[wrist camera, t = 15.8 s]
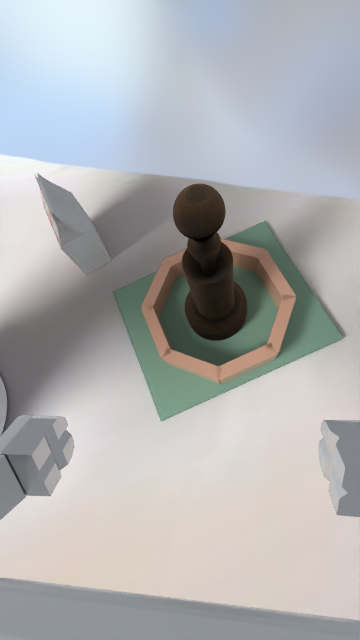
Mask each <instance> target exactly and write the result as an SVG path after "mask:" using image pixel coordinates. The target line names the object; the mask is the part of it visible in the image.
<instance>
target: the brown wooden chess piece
mask: <svg viewBox="0 0 360 640" xmlns="http://www.w3.org/2000/svg"><path fill="white" fill-rule="evenodd" d="M173 218H174V222H175V225H176V227H177V228H178V230H179V231H180V232H181V233H182V234H183V235H184V236H186V237H188V238H189V239H188V243H187V246H188V248H187V249H186V250H185V252H184V254H183V256H182V269H183V272H184V274H185V277H186V280H187V282H188V285H189V288H190V291H189V293H188V295H187V297H186V300H185V314H186V318H187V320H188V322H189V324H190V326H191V328H192V329H193V331H194V332H195V333H196V334H198V335H199V336H200V337H202V338H204V339H207V340H212V341H219V340H224V339H227V338H230V337H232V336H233V335H235V334H236V333H237V332H238V331H239V330H240V329H241V328H242V326H243V324H244V322H245V320H246V315H247V299H246V296H245V293H244V291H243V290H242V288H241V287H240V286H239V285H238V284H237V283H236V282H235V281H234V279H233V255H232V252H231V250H230V249H229V247H228V246H227V245H225V244H224V243H223V242H221V239H220V236H219V234H218V233H217V231H218V230H219V229H220V227H221V226H222V224H223V221H224V218H225V205H224V202H223V199H222V197H221V195H220V194H219V193H218V192H217V191H216V190H215V189H214V188H213V187H211V186H209V185H206V184H193V185H190V186H188V187H186V188H185V189H184V190H182V191H181V192H180V194H179V195H178V196H177V198H176V200H175V203H174V207H173Z"/></svg>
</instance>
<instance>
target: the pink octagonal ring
mask: <svg viewBox="0 0 360 640" xmlns="http://www.w3.org/2000/svg"><path fill="white" fill-rule="evenodd" d="M220 239H221V238H220ZM221 242H223V243H224V244H225V245H227V246H228V247H229V249H230V250H231V252H232V255H233V266H236V267H240V268H243V269H247V270H251V271H255V272H257V274H258V276H259V277H260V279H261V281H262V282H263V284H264V286H265V287H266V289H267V291H268V292H269V294H270V296H271V297H272V299H273V301H274V302H275V304H276V306H277V307H278V311H277V314H276V317H275V320H274V323H273V326H272V329H271V332H270V336H269V339H268V342H267V345H265V346H262V347H260V348H258V349H256V350H254V351H251V352H249V353H247V354H245V355H243V356H240V357H238V358H236V359H234V360H232V361H229V362H227V363H225V364H223V365H221V366H219V367H218V366H216V365H213V364H210V363H207V362H205V361H202V360H199V359H196V358H194V357H191V356H188V355H185V354H183V353H180V352H177V351H174V349H173V347H172V345H171V342H170V340H169V338H168V335H167V333H166V330H165V328H164V326H163V323H162V321H161V319H160V315H161V312H162V310H163V308H164V305H165V303H166V301H167V298H168V296H169V294H170V291H171V289H172V287H173V285H174V282H175V280H176V279H177V278H179V277H181V276H183V275H185V274H184V272H183V269H182V256H183V254H184V252H185V250H186V249H187V248H186V249H184V250H182V251H180V252H178V253H176V254H174V255H172V256H169V257H167V258H165V259H163V260H164V261H163V260H162V262H161V264H160V267H159V269H158V271H157V273H156V275H155V278H154V280H153V282H152V284H151V286H150V289H149V291H148V293H147V295H146V297H145V299H144V302H143V304H142V306H141V310H142V312H143V315H144V317H145V320H146V322H147V325H148V327H149V330H150V332H151V335H152V337H153V340H154V342H155V345H156V347H157V350H158V352H159V355H160V357H161V359H163V360H164V361H165V362H166V363H167V364H168V365H171V366H173V367H176V368H178V369H181V370H184V371H186V372H189V373H192V374H194V375H197V376H199V377H202V378H205V379H207V380H210V381H213V382H215V383H218V384H220V383H221V384H223V383H225V382H228V381H230V380H232V379H234V378H236V377H238V376H241V375H243V374H245V373H247V372H249V371H252V370H254V369H256V368H258V367H260V366H263V365H265V364H267V363H269V362H271V361H274V359H275V358H276V356H277V355H278V353H279V350H280V347H281V344H282V341H283V338H284V334H285V331H286V328H287V325H288V322H289V319H290V315H291V312H292V309H293V306H294V303H295V299H296V295H295V293H294V292H293V290H292V289H291V287H290V286H289V284H288V282H287V281H286V279H285V278H284V276H283V275H282V273H281V272H280V270H279V269H278V267H277V265H276V264H275V262H274V261H273V259H272V258H271V256H270V255H269V253H268V251H267V250H265V249H263V248H258V247H254V246H250V245H246V244H242V243H237V242H233V241H229V240H225V239H221Z"/></svg>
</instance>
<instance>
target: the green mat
mask: <svg viewBox="0 0 360 640" xmlns="http://www.w3.org/2000/svg"><path fill="white" fill-rule="evenodd" d="M225 240H229V241H233V242H237V243H242V244H246V245H250V246H254V247H258V248H263V249H265V250H267V251H268V253H269V255H270V256H271V258H272V259H273V261H274V262H275V264H276V265H277V267H278V269H279V270H280V272H281V273H282V275H283V276H284V278H285V279H286V281H287V282H288V284H289V286H290V287H291V289H292V290H293V292H294V293H295V295H296V299H295V303H294V306H293V309H292V312H291V315H290V319H289V322H288V325H287V328H286V331H285V334H284V338H283V341H282V344H281V347H280V350H279V353H278V355H277V356H276V358H275V359H274V361H271V362H269V363H267V364H265V365H263V366H260V367H258V368H256V369H254V370H252V371H249V372H247V373H245V374H243V375H241V376H238V377H236V378H234V379H232V380H230V381H228V382H225V383H223V384H221V383H220V384H218V383H215V382H213V381H210V380H207V379H205V378H202V377H199V376H197V375H194V374H192V373H189V372H186V371H184V370H181V369H178V368H176V367H173V366H171V365H168V364H167V363H166V362H165V361H164V360H163V359H161V357H160V355H159V352H158V350H157V347H156V345H155V342H154V340H153V337H152V335H151V332H150V330H149V327H148V325H147V322H146V320H145V317H144V315H143V312H142V310H141V306H142V304H143V302H144V299H145V297H146V295H147V293H148V291H149V289H150V286H151V284H152V282H153V280H154V278H155V275H156V273H157V272H155V273H153V274H151V275H149V276H146V277H144V278H142V279H140V280H138V281H136V282H134V283H131V284H129V285H127V286H125V287H123V288H121V289H119V290H116V291H114V295H115V298H116V301H117V303H118V306H119V309H120V311H121V314H122V317H123V320H124V322H125V325H126V328H127V330H128V333H129V336H130V339H131V341H132V344H133V347H134V349H135V352H136V355H137V358H138V360H139V363H140V366H141V368H142V371H143V374H144V377H145V379H146V382H147V385H148V387H149V390H150V393H151V396H152V398H153V401H154V404H155V406H156V409H157V412H158V415H159V417H160V420H161V421H163V420H165V419H167V418H169V417H172V416H174V415H176V414H178V413H181V412H183V411H185V410H187V409H189V408H192V407H194V406H196V405H198V404H200V403H203V402H205V401H207V400H209V399H211V398H214V397H216V396H218V395H220V394H222V393H225V392H227V391H229V390H231V389H233V388H236V387H238V386H240V385H242V384H244V383H247V382H249V381H251V380H253V379H255V378H258V377H260V376H262V375H264V374H266V373H269V372H271V371H273V370H275V369H277V368H280V367H282V366H284V365H286V364H288V363H291V362H293V361H295V360H297V359H299V358H302V357H304V356H306V355H308V354H310V353H313V352H315V351H317V350H319V349H321V348H324V347H326V346H328V345H330V344H332V343H335V342H337V341H339V340H341V339H342V338H343V337H342V335H341V334H340V332H339V331H338V329H337V328H336V326H335V325H334V323H333V322H332V320H331V319H330V318H329V316H328V315H327V313H326V312H325V310H324V309H323V307H322V306H321V304H320V303H319V301H318V300H317V298H316V297H315V295H314V294H313V292H312V291H311V289H310V288H309V286H308V285H307V283H306V282H305V280H304V279H303V277H302V276H301V274H300V273H299V271H298V270H297V268H296V267H295V265H294V264H293V262H292V261H291V260H290V258H289V257H288V255H287V254H286V252H285V251H284V249H283V248H282V246H281V245H280V243H279V242H278V240H277V239H276V237H275V236H274V234H273V233H272V231H271V230H270V228H269V227H268V225H267V224H266V222H265V221H264V222H262V223H260V224H257V225H255V226H253V227H251V228H249V229H247V230H245V231H243V232H240V233H238V234H236V235H234V236H232V237H230V238H228V239H225ZM233 279H234V281H235V282H236V283H237V284H238V285H239V286H240V287H241V288H242V290H243V291H244V293H245V296H246V299H247V315H246V320H245V322H244V324H243V326H242V328H241V329H240V330H239V331H238V332H237V333H236V334H235V335H233V336H232V337H230V338H227V339H224V340H219V341H212V340H207V339H204V338H202V337H200V336H199V335H198V334H196V333H195V332H194V331H193V329H192V328H191V326H190V324H189V322H188V320H187V318H186V314H185V300H186V297H187V295H188V293H189V291H190V288H189V285H188V282H187V280H186V277H185V275H183V276H181V277H179V278H177V279H176V280H175V282H174V285H173V287H172V289H171V291H170V294H169V296H168V298H167V301H166V303H165V305H164V308H163V310H162V312H161V315H160V319H161V321H162V323H163V326H164V328H165V330H166V333H167V335H168V338H169V340H170V342H171V345H172V347H173V349H174V351H177V352H180V353H183V354H185V355H188V356H191V357H194V358H196V359H199V360H202V361H205V362H207V363H210V364H213V365H216V366H218V367H219V366H221V365H223V364H225V363H227V362H229V361H232V360H234V359H236V358H238V357H240V356H243V355H245V354H247V353H249V352H251V351H254V350H256V349H258V348H260V347H262V346H265V345H267V342H268V339H269V336H270V332H271V329H272V326H273V323H274V320H275V317H276V314H277V311H278V307H277V306H276V304H275V302H274V301H273V299H272V297H271V296H270V294H269V292H268V291H267V289H266V287H265V286H264V284H263V282H262V281H261V279H260V277H259V276H258V274H257V272H255V271H251V270H247V269H243V268H240V267H236V266H233Z"/></svg>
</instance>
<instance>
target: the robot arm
mask: <svg viewBox="0 0 360 640" xmlns="http://www.w3.org/2000/svg"><path fill="white" fill-rule="evenodd" d="M6 414H7V395H6V390H5V386H4V383H3V381H2V379H1V377H0V520H1V519H2V518H3V517H4V516H5V515H6V514H7V513H9V512H10V511H11V510H12V509H13V508H14V507H15V506H16V505H17V504H19V503H20V502H21V501H22V500H23V499H24V498H25V497H26V496H25V495H31V496H51V494H52V493H53V491H54V489H55V487H56V485H57V483H58V482H59V480H60V478H61V472H60V470H61V469H62V468H64V467H65V466H66V465H68V463H69V461H70V459H71V457H72V454H73V450H74V440H73V437H72V435H71V434H70V433H69V432H68V431H67V430H66V428H67V426H68V424H67V421H66V419H65V417H61V416H40V415H35V416H32V415H21V416H19V417H17V418H16V419H15V420H14V421H13V423H12V424H11V425H10V426H9V427H8V428H7V430H6V431H5V432H4V433H3V434H2V431H3V428H4V425H5V420H6ZM321 432H322V435H323V439H321V440H320V441H319V460H320V465H321V469H322V472H323V475H324V476H325V477H326V478H327V479H328V480H329V481H330V484H329V494H330V496H331V499H332V502H333V505H334V508H335V511H336V514H337V515H343V516H354V517H360V421H359V420H323V422H322V424H321ZM1 434H2V435H1ZM0 640H360V620H352V619H344V618H336V617H327V616H319V615H311V614H303V613H294V612H286V611H278V610H270V609H261V608H253V607H245V606H237V605H228V604H220V603H212V602H204V601H195V600H187V599H179V598H171V597H162V596H154V595H146V594H137V593H129V592H121V591H113V590H104V589H96V588H88V587H80V586H71V585H63V584H55V583H46V582H38V581H30V580H21V579H13V578H5V577H0Z"/></svg>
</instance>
